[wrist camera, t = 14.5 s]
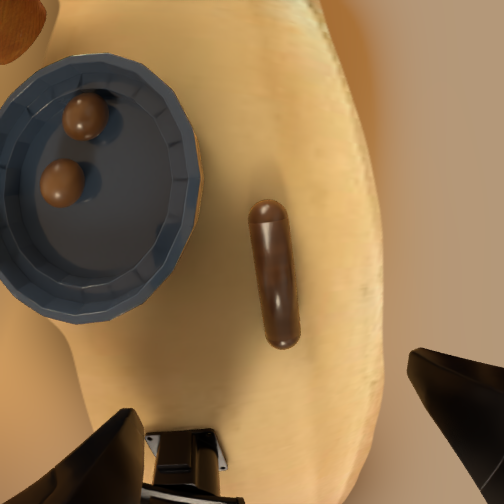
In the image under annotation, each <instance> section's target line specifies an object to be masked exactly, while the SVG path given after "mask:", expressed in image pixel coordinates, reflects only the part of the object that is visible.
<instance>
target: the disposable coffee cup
mask: <svg viewBox="0 0 504 504" xmlns="http://www.w3.org/2000/svg"><path fill="white" fill-rule="evenodd" d="M45 20H46V10H45V8H44V6H43V5H42V3H41V2H40V0H0V65H5V64H8V63H10V62H12V61H14V60H15V59H17V58H18V57H20V56H21V55H22V54H23V53H24V52H25V51H26V50H27V49H28V48H29V47H30V46H31V45H32V44H33V42H34V41H35V40H36V38H37V37H38V35H39V34H40V32H41V30H42V28H43V26H44V23H45Z"/></svg>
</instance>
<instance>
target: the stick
mask: <svg viewBox="0 0 504 504" xmlns="http://www.w3.org/2000/svg"><path fill="white" fill-rule="evenodd" d="M248 224H249V231H250V237H251V244H252V250H253V257H254V263H255V270H256V277H257V283H258V290H259V296H260V303H261V310H262V316H263V323H264V329H265V336H266V339H267V341H268V343H269V344H270V345H271V346H273V347H274V348H276V349H280V350H286V349H289V348H291V347H293V346H294V345H295V344H296V343H297V342H298V340H299V338H300V335H301V328H300V317H299V307H298V297H297V288H296V278H295V269H294V261H293V252H292V244H291V236H290V228H289V220H288V214H287V212H286V209H285V208H284V207H283V206H282V205H281V204H280V203H278V202H277V201H274V200H262V201H260V202H258V203H256V204H255V205H254V206H253V207H252V208H251V210H250V212H249V216H248Z"/></svg>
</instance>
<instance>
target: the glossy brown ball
mask: <svg viewBox="0 0 504 504" xmlns="http://www.w3.org/2000/svg"><path fill="white" fill-rule="evenodd" d="M84 186H85V176H84V173H83V170H82V168H81V167H80V166H79V164H77V163H76V162H75V161H73V160H71V159H67V158H62V159H57V160H55V161H53V162H51V163H50V164H49V165H48V166H47V167H46V168H45V169H44V171H43V173H42V175H41V179H40V191H41V194H42V196H43V198H44V200H45V201H46V202H47V203H48V204H50V205H51V206H53V207H57V208H65V207H68V206H70V205H72V204H74V203H75V202H76V201H77V200H78V199H79V198H80V196H81V195H82V193H83V190H84Z"/></svg>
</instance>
